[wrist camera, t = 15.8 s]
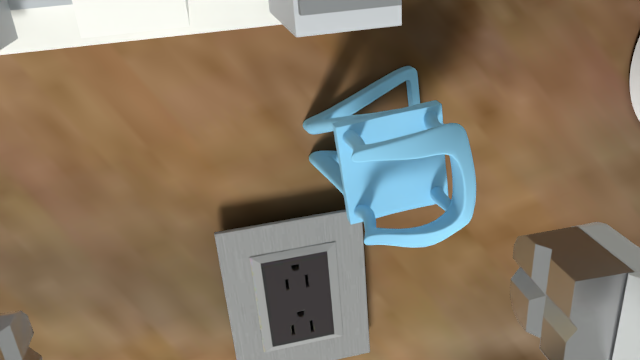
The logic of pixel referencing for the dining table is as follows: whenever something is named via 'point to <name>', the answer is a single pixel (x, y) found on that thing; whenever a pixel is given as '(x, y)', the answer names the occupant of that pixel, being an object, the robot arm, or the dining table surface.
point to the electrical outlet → (296, 288)
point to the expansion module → (129, 16)
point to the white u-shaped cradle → (192, 20)
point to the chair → (396, 162)
